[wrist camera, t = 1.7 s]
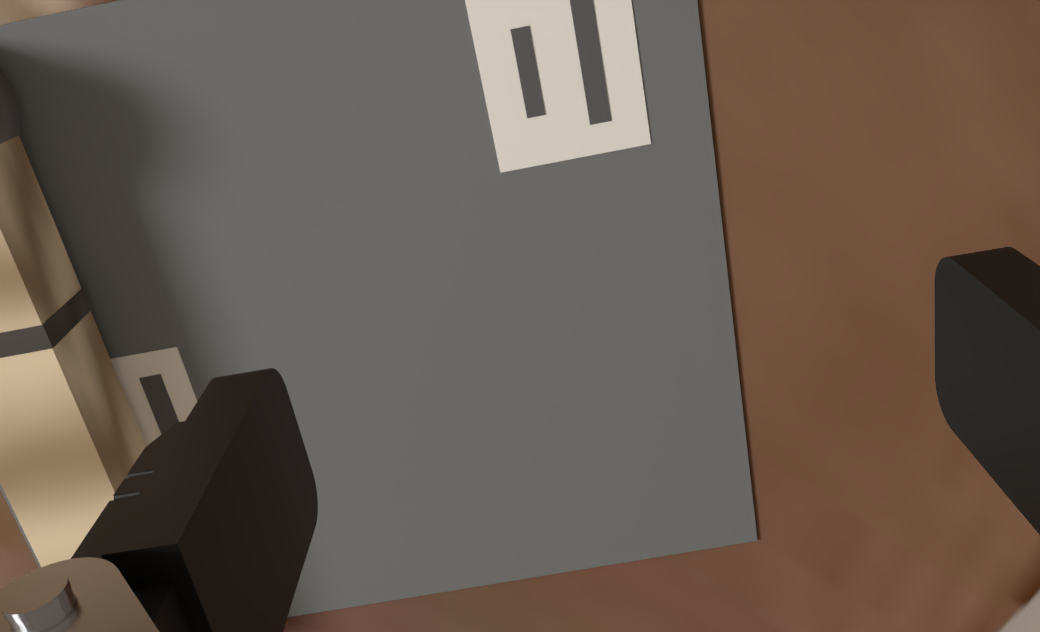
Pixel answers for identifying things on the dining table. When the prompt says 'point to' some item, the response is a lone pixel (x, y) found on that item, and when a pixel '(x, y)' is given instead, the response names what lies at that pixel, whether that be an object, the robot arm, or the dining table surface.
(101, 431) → the swing arm
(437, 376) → the label mat
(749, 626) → the dining table surface
